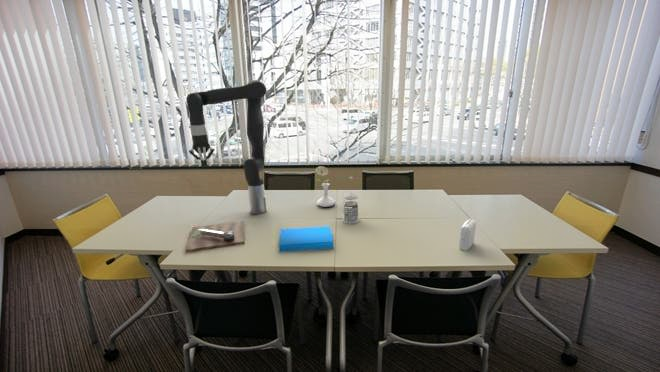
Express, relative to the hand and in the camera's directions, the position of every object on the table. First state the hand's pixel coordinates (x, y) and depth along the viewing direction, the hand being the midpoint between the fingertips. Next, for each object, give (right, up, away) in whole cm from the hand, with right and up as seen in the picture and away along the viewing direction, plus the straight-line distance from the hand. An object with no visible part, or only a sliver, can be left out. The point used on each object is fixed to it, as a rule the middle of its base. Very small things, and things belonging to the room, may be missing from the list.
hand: (204, 166), depth 162 cm
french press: (+77, -29, +9) cm, 83 cm away
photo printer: (+129, -38, -21) cm, 136 cm away
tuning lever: (+10, -35, -11) cm, 38 cm away
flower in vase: (+63, -22, +32) cm, 74 cm away
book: (+55, -38, -14) cm, 68 cm away
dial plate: (+9, -36, -7) cm, 38 cm away
